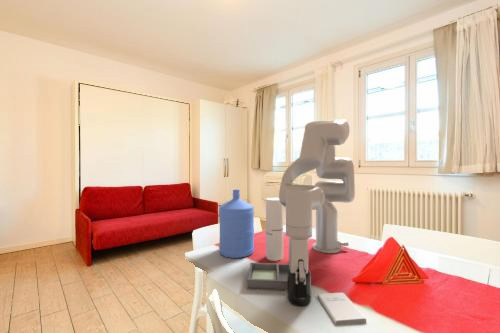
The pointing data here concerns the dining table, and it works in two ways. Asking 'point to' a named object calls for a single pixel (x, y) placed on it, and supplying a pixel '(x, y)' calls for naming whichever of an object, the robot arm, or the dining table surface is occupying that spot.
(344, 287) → the dining table surface
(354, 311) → the external hard drive
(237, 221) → the water jug
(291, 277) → the supplement bottle
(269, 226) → the cylindrical container
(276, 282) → the sorting tray
